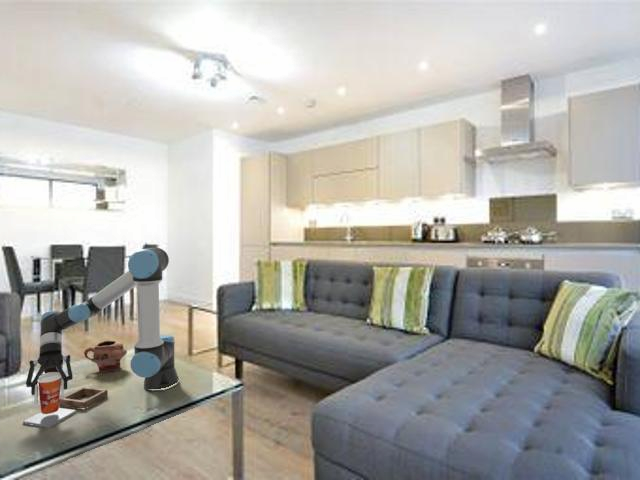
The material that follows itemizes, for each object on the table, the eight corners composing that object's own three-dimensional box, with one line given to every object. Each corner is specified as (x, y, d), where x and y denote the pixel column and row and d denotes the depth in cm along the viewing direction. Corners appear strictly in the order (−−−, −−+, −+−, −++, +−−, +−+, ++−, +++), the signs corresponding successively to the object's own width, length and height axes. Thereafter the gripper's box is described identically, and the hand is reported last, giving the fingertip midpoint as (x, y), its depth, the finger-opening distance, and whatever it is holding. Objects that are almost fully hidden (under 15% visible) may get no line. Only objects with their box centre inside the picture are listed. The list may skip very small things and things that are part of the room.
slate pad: (76, 412, 157) (76, 410, 157) (48, 428, 145) (48, 425, 145) (51, 409, 159) (51, 406, 159) (23, 423, 148) (23, 421, 148)
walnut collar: (107, 396, 171) (107, 389, 171) (84, 409, 159) (84, 402, 159) (83, 393, 174) (83, 386, 174) (59, 406, 162) (59, 399, 162)
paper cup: (43, 417, 147) (42, 380, 146) (34, 412, 151) (33, 376, 150) (66, 409, 153) (65, 374, 153) (56, 404, 158) (55, 369, 157)
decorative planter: (80, 376, 193) (79, 348, 192) (87, 367, 205) (86, 340, 204) (124, 372, 199) (124, 344, 198) (129, 363, 211) (128, 337, 210)
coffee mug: (53, 382, 185) (53, 361, 185) (38, 380, 187) (37, 360, 187) (73, 373, 197) (73, 353, 196) (59, 371, 199) (58, 352, 198)
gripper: (80, 346, 170) (81, 397, 157) (20, 355, 159) (16, 410, 146) (79, 337, 165) (80, 389, 152) (18, 345, 154) (14, 402, 141)
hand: (49, 399), depth 149 cm, fingers closed on paper cup, 8 cm apart
